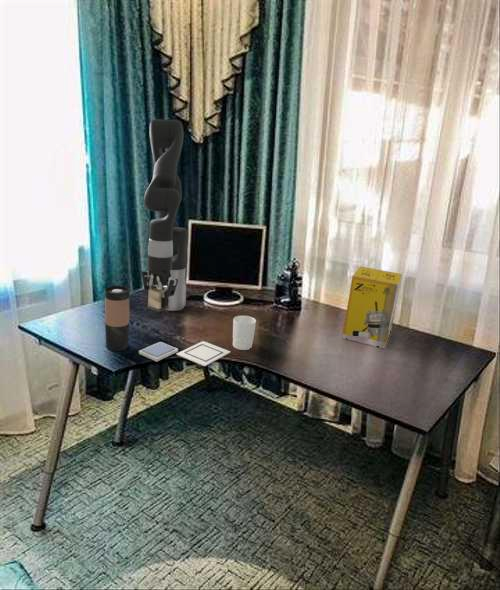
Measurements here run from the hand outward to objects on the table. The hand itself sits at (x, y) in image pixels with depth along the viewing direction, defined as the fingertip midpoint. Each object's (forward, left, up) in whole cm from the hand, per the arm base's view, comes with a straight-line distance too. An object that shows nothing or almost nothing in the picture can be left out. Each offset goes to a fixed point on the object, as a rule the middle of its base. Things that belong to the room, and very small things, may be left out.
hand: (158, 305), depth 156 cm
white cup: (-24, +18, -17) cm, 34 cm away
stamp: (0, 0, -1) cm, 1 cm away
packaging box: (-66, +48, -17) cm, 83 cm away
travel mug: (+6, -12, -17) cm, 21 cm away
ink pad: (0, +1, -16) cm, 16 cm away
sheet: (-10, +12, -16) cm, 22 cm away
